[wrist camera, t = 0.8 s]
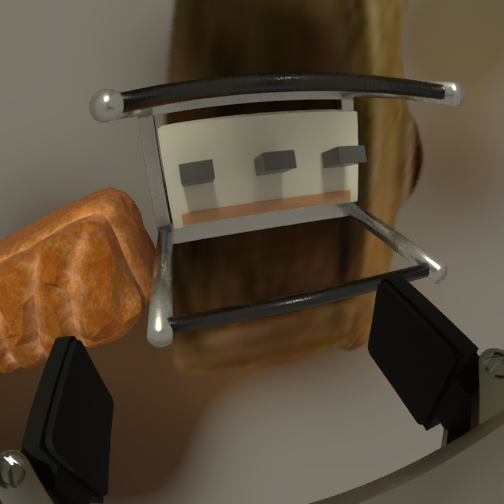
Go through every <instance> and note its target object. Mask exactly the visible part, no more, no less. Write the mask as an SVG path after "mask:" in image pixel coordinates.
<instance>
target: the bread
mask: <svg viewBox="0 0 504 504" xmlns="http://www.w3.org/2000/svg"><path fill="white" fill-rule="evenodd" d="M155 255H156V250H155V247H154V244H153V242H152V241H151V239H150V237H149V235H148V233H147V231H146V230H145V228H144V225H143V221H142V217H141V213H140V211H139V209H138V208H137V206H136V204H135V203H134V201H133V199H132V198H130V196H128V195H127V194H126V193H125V192H123V191H119V190H116V189H113V188H105V189H101V190H98V191H96V192H94V193H92V194H90V195H88V196H86V197H84V198H82V199H80V200H77V201H74V202H71V203H68V204H66V205H64V206H62V207H60V208H58V209H57V210H54V211H53V212H51V213H48V214H46V215H44V216H43V217H42V218H40V219H39V220H37V221H36V222H34V223H32V224H30V225H29V226H27V227H25V228H23V229H21V230H18V231H16V232H14V233H12V234H10V235H8V236H7V237H5V238H4V239H2V240H1V241H0V372H3V373H10V372H12V371H14V370H15V369H17V368H19V367H23V368H26V369H28V368H31V367H35V366H38V365H40V364H42V363H44V362H46V361H47V360H48V357H49V354H50V352H51V349H52V347H53V344H54V341H55V339H56V338H57V337H64V336H75V337H76V339H77V340H81V341H82V343H83V345H84V346H86V347H91V348H95V347H98V346H102V345H104V344H107V343H110V342H113V341H116V340H118V339H120V338H122V337H124V336H125V335H126V334H127V333H128V332H129V331H130V330H131V328H132V327H133V326H134V325H135V324H136V323H137V322H138V321H139V320H140V318H141V316H142V315H143V313H144V306H145V304H146V303H147V302H148V301H149V300H150V297H151V287H152V279H153V270H154V262H155Z"/></svg>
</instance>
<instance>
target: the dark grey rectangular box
mask: <svg viewBox="0 0 504 504" xmlns="http://www.w3.org/2000/svg"><path fill="white" fill-rule="evenodd" d="M254 163H255V170H256V176H259V175H267V174H276V173H284V172H287V171H290V170H292V169H295V168H297V165H296V158H295V152H294V150H284V151H274V152H265V153H261V154H260V155H259V156H258V157H257V158H255V159H254Z"/></svg>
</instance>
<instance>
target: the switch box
mask: <svg viewBox="0 0 504 504" xmlns="http://www.w3.org/2000/svg"><path fill="white" fill-rule="evenodd" d="M158 136H159V143H160V149H161V156H162V163H163V169H164V175H165V181H166V187H167V193H168V199H169V204H170V210H171V215H172V221H173V226H174V229H176V228H181V227H187V226H193V225H199V224H205V223H211V222H217V221H223V220H229V219H236V218H242V217H248V216H255V215H261V214H268V213H275V212H281V211H288V210H295V209H302V208H309V207H317V206H324V205H331V204H339V203H347V202H355V201H357V199H358V164H356V165H352V166H346V167H334V168H324V166H323V159H322V153H323V152H325V151H328V150H330V149H333V148H335V147H338V146H357V145H358V123H357V112H355V111H345V110H334V109H327V110H296V111H278V112H264V113H252V114H242V115H232V116H223V117H215V118H207V119H200V120H193V121H186V122H180V123H174V124H168V125H162V126H161V127H159V128H158ZM284 150H294V152H295V158H296V165H297V168H295V169H292V170H290V171H287V172H284V173H276V174H267V175H259V176H256V170H255V163H254V159H255V158H257V157H258V156H259V155H260V154H261V153H265V152H274V151H284ZM210 159H212V160H213V167H214V174H215V179H214V181H213V182H210V183H203V184H197V185H191V186H185V187H183V186H182V184H181V179H180V172H179V164H184V163H190V162H196V161H203V160H210Z"/></svg>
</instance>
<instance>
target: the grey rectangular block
mask: <svg viewBox="0 0 504 504" xmlns="http://www.w3.org/2000/svg"><path fill="white" fill-rule="evenodd" d="M179 172H180V179H181V184H182V186H183V187H185V186H191V185H197V184H203V183H210V182H213V181H214V179H215V174H214V167H213V160H212V159H210V160H203V161H196V162H190V163H184V164H179Z"/></svg>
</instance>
